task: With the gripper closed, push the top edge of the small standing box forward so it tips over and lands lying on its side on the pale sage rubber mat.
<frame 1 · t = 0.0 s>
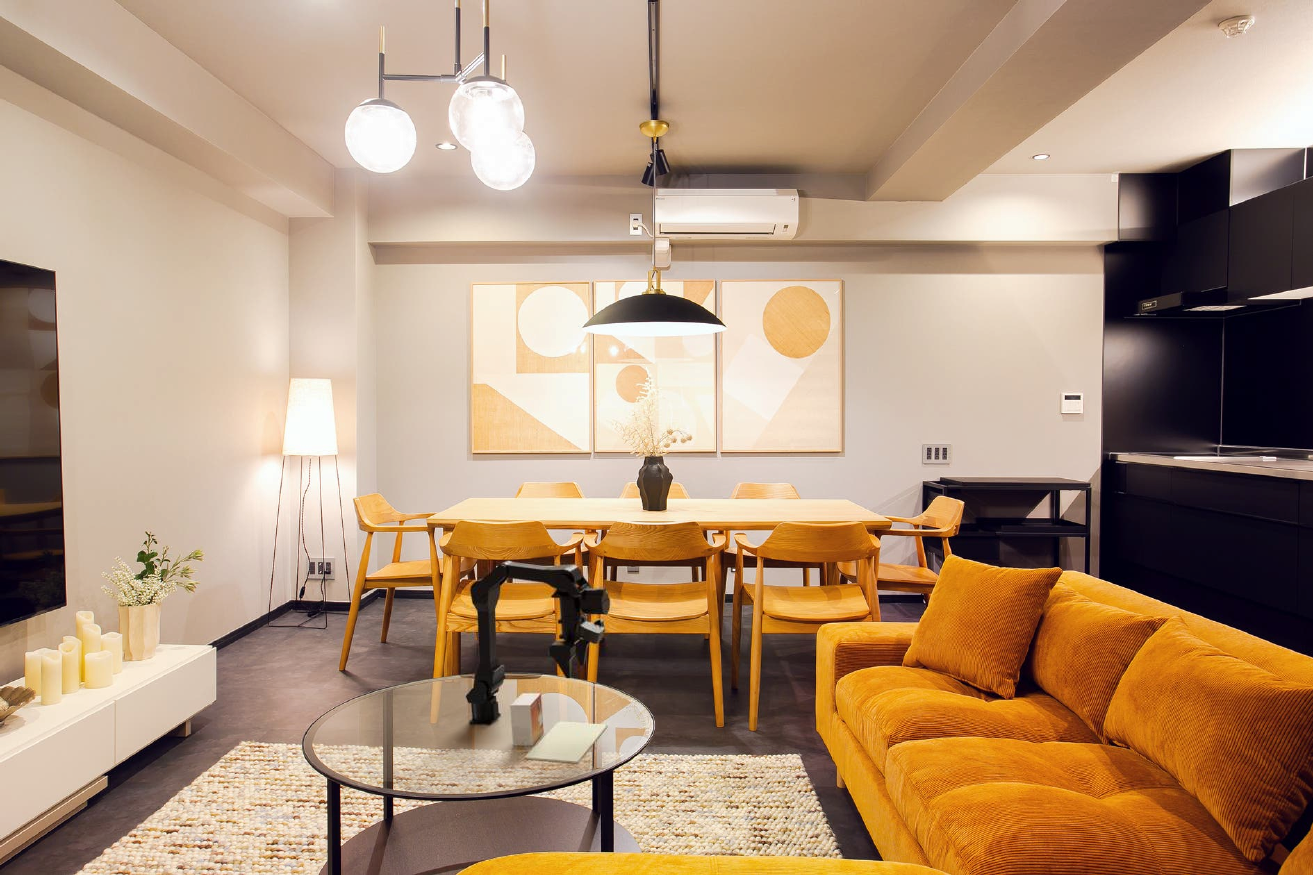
hand: (575, 671, 189), 15 cm above the table, tool pointing down, fingers open, 9 cm apart
small box: (528, 739, 184), on the table
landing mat: (567, 741, 181), on the table
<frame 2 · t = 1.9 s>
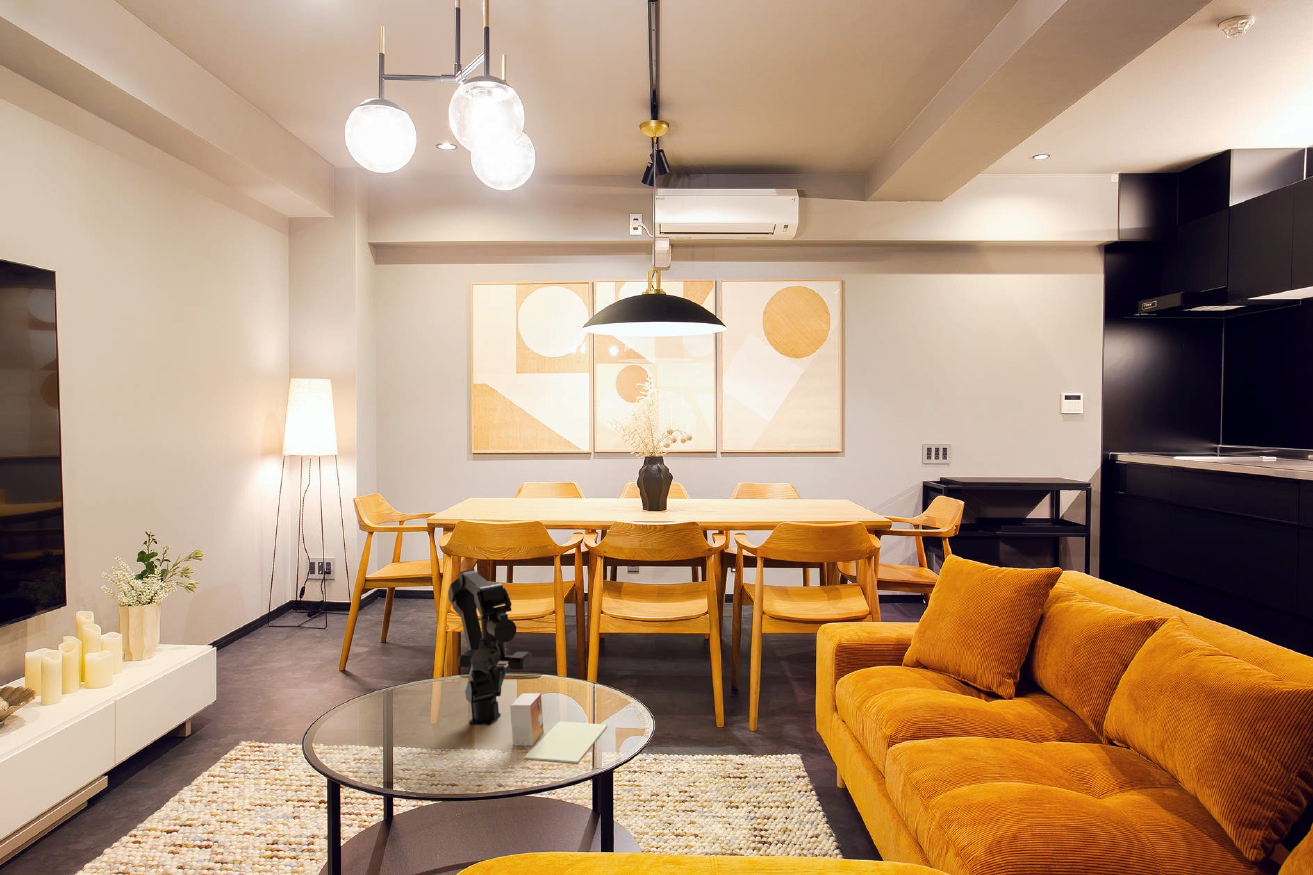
hand: (497, 691, 186), 12 cm above the table, tool pointing down, fingers closed
nothing on the table moved.
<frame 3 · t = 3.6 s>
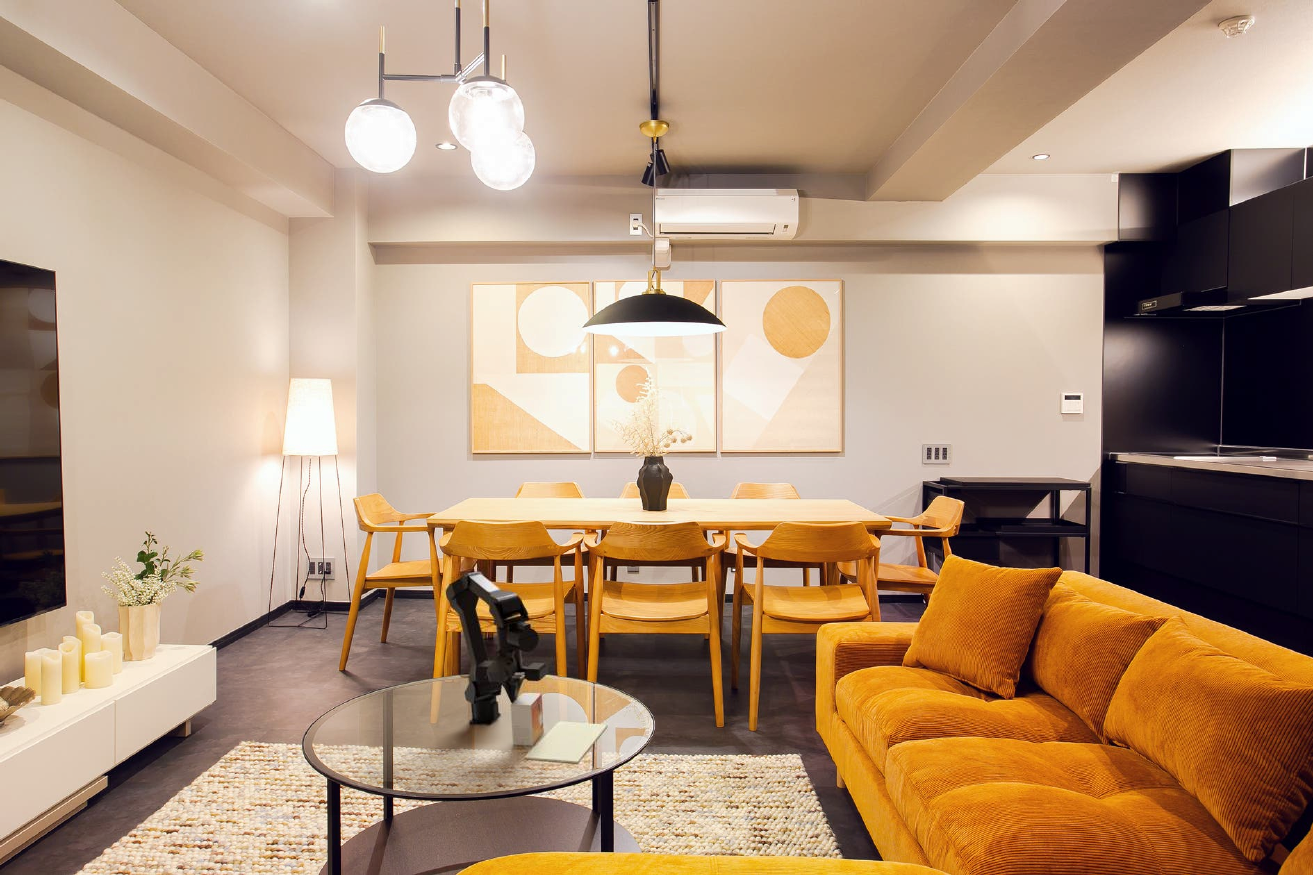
hand: (513, 703, 185), 9 cm above the table, tool pointing down, fingers closed
small box: (528, 739, 184), on the table, touching gripper
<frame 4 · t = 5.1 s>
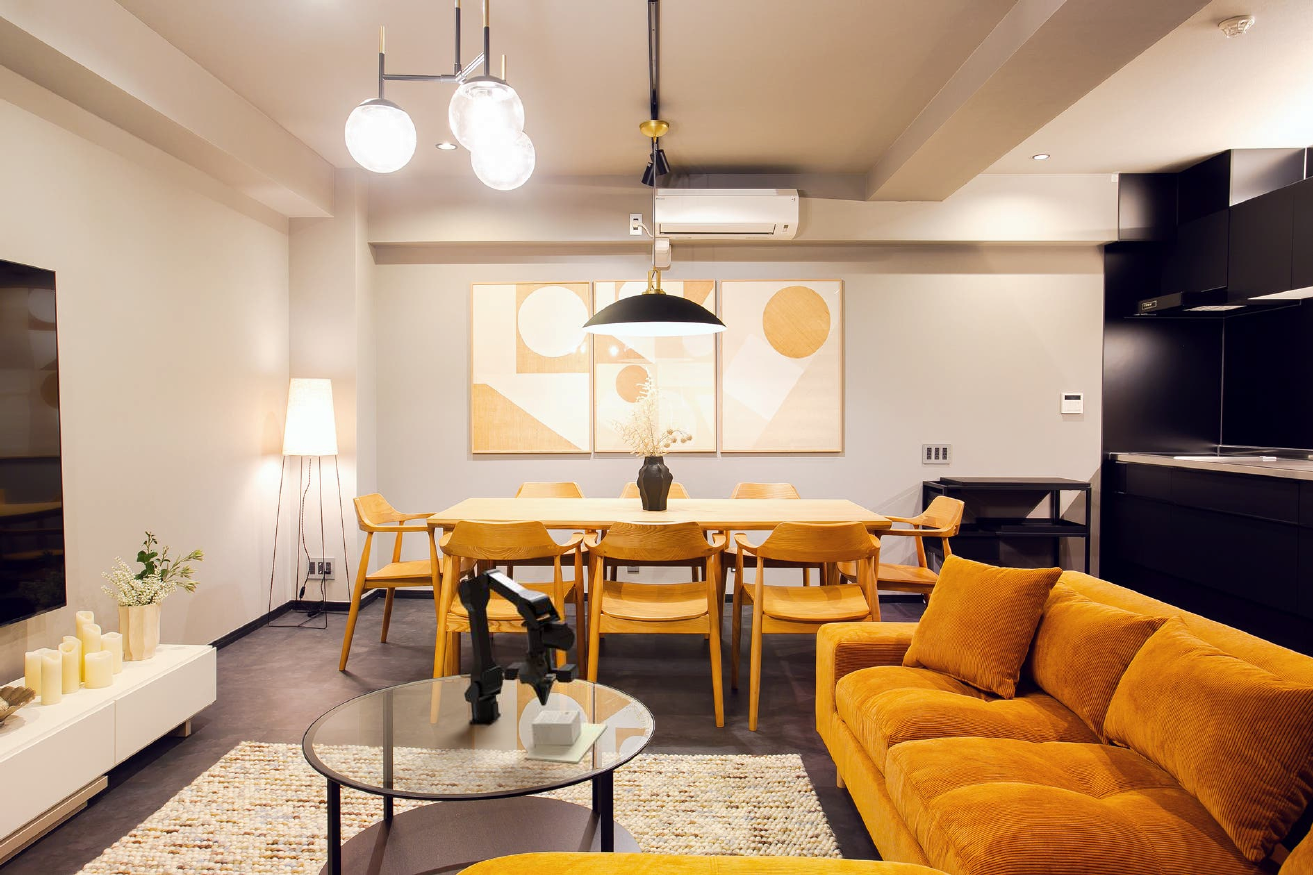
hand: (544, 705, 182), 9 cm above the table, tool pointing down, fingers closed
small box: (536, 727, 183), point 3 cm above the table, touching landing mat
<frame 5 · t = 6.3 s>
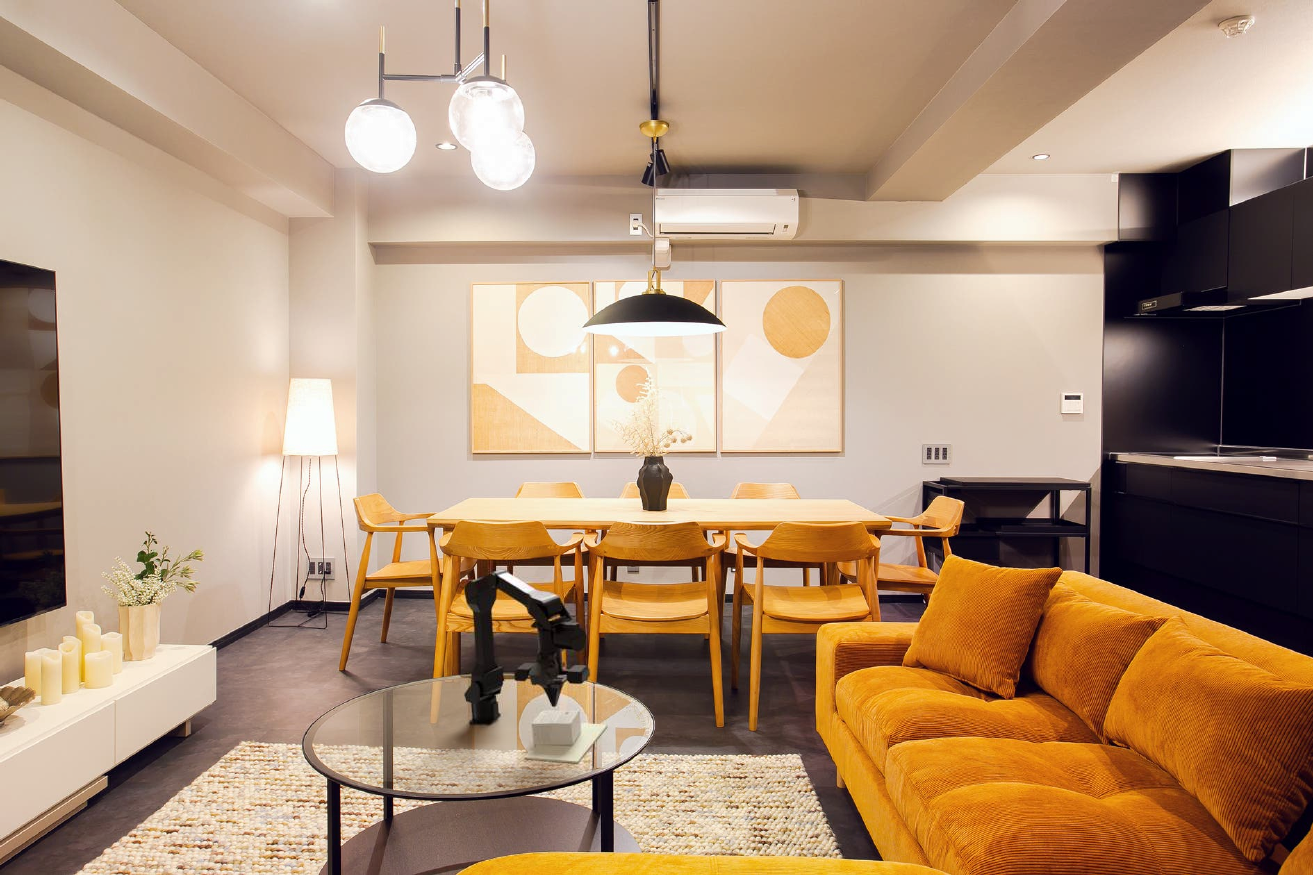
hand: (554, 706, 182), 9 cm above the table, tool pointing down, fingers closed
nothing on the table moved.
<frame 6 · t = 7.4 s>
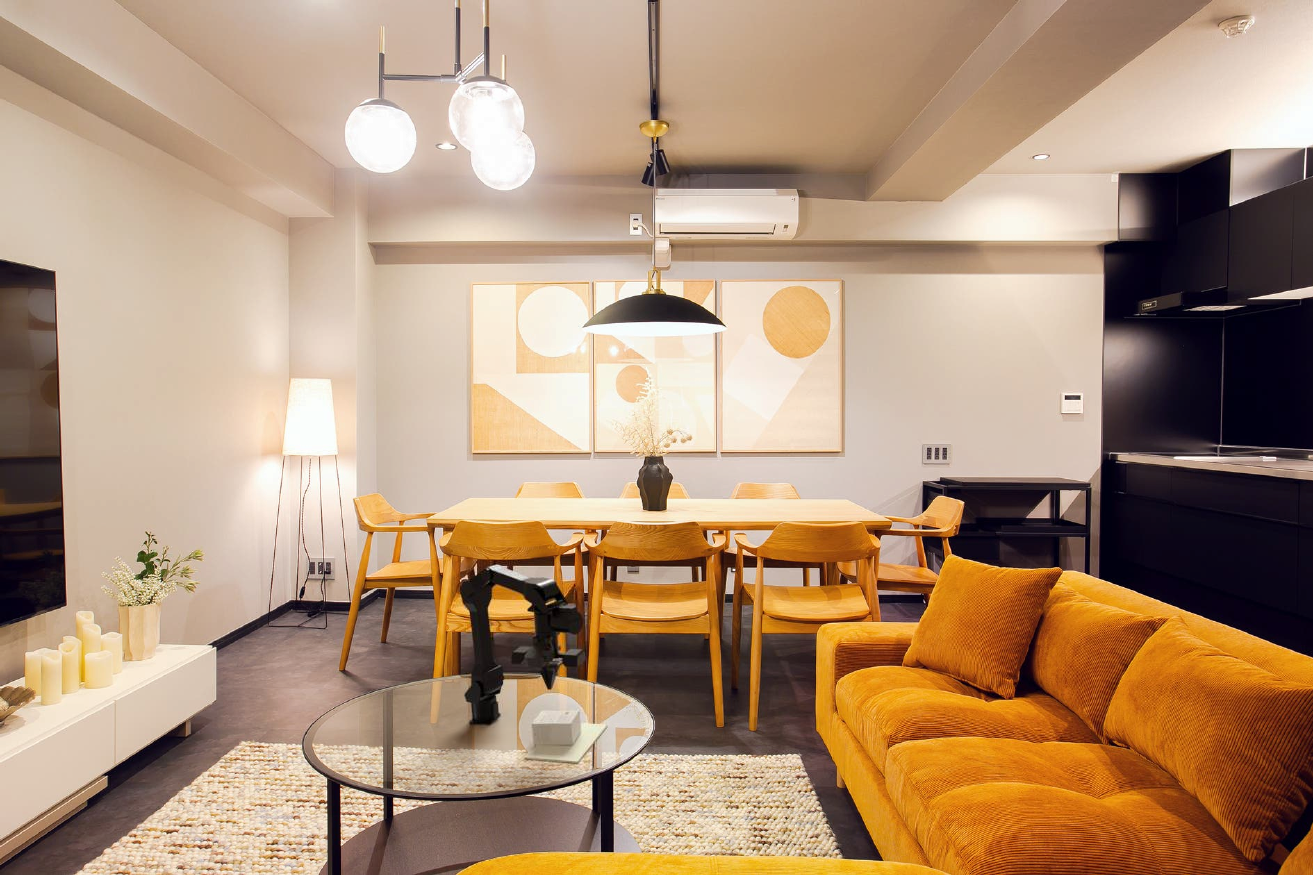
hand: (549, 689, 184), 13 cm above the table, tool pointing down, fingers closed
nothing on the table moved.
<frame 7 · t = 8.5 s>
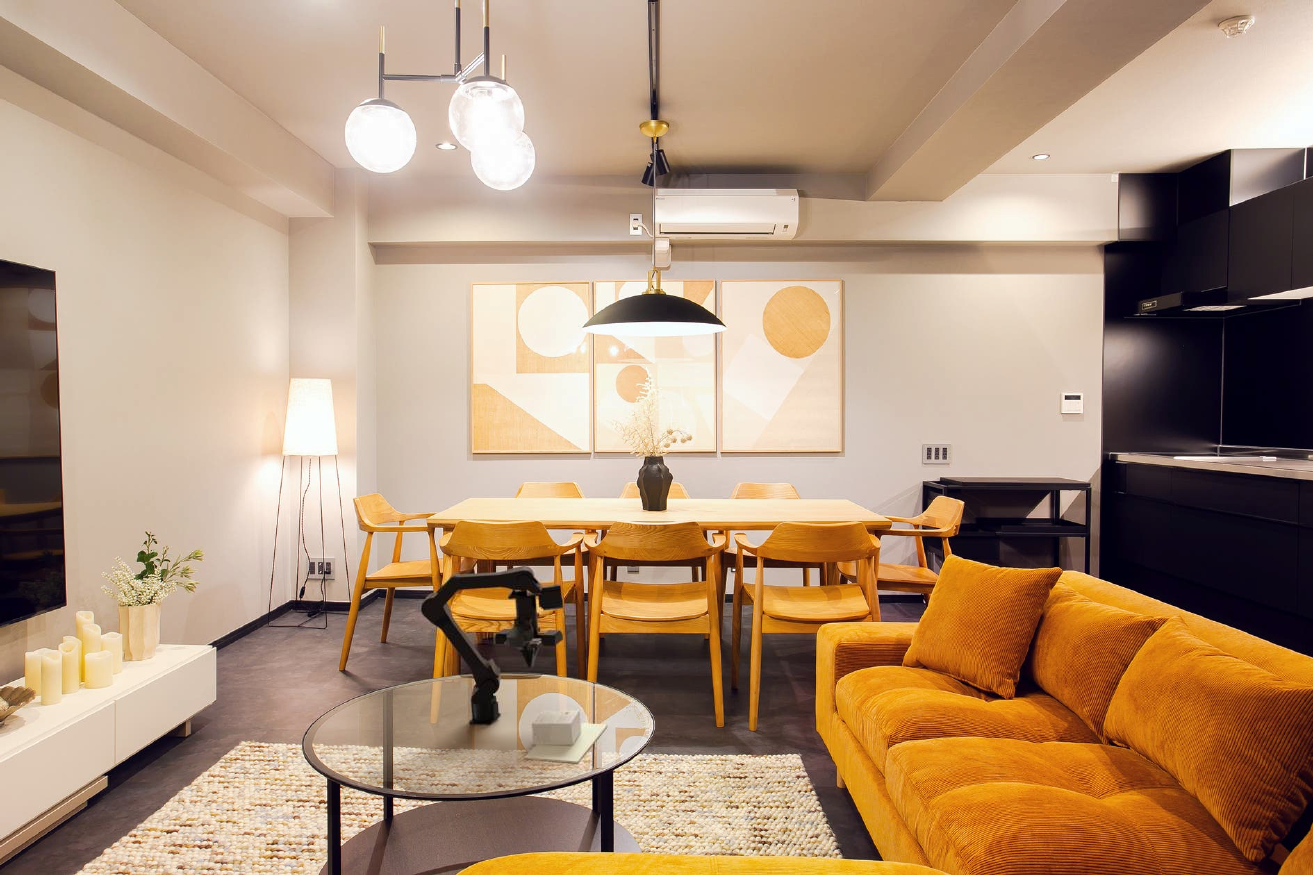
hand: (530, 667, 200), 13 cm above the table, tool pointing down, fingers closed
nothing on the table moved.
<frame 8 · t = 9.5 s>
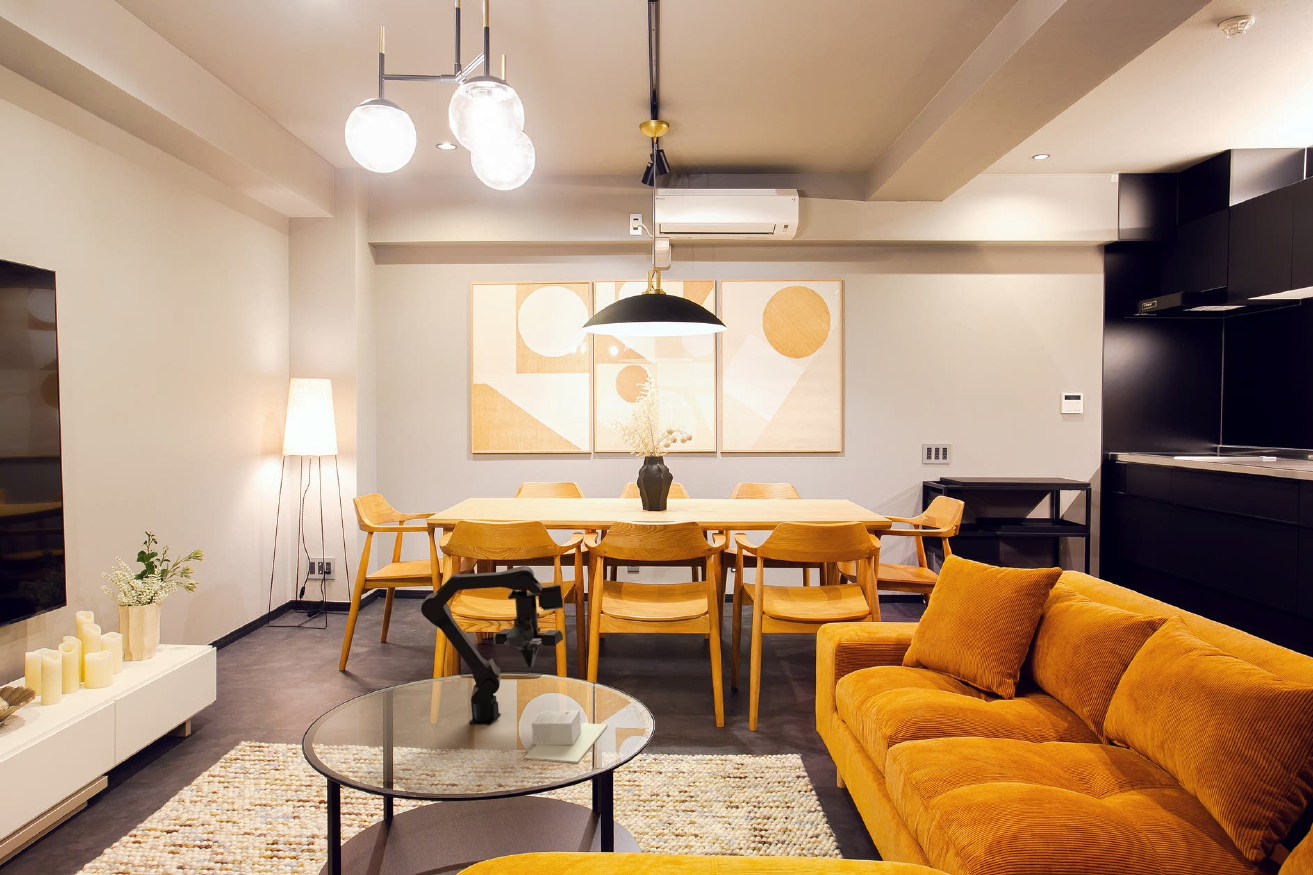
hand: (530, 667, 200), 13 cm above the table, tool pointing down, fingers closed
nothing on the table moved.
at the end: small box tilted 90°; small box touching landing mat; small box inside the target area (3.0 cm from its centre), point 3.2 cm above the table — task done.
